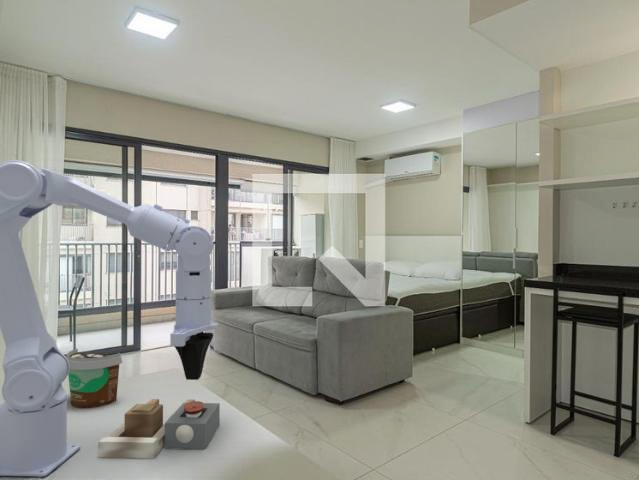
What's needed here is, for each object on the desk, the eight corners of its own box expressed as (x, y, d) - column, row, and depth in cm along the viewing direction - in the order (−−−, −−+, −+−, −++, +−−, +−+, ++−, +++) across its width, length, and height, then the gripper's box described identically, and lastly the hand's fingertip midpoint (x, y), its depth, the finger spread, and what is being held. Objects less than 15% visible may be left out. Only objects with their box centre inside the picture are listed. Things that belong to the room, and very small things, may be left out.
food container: (48, 406, 80) (48, 356, 80) (75, 395, 86) (75, 348, 86) (97, 414, 77) (97, 361, 77) (122, 401, 82) (122, 353, 82)
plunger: (180, 438, 66) (180, 408, 66) (187, 428, 70) (187, 401, 70) (199, 438, 66) (199, 409, 66) (206, 429, 69) (206, 401, 69)
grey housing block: (164, 448, 64) (164, 423, 64) (183, 425, 72) (183, 402, 72) (204, 449, 64) (204, 424, 64) (219, 425, 72) (219, 403, 72)
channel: (98, 457, 61) (98, 441, 61) (151, 408, 79) (151, 395, 79) (153, 458, 61) (153, 442, 61) (194, 408, 79) (194, 396, 79)
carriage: (124, 444, 65) (124, 412, 65) (136, 433, 69) (136, 402, 69) (152, 445, 65) (152, 412, 65) (162, 433, 69) (162, 402, 69)
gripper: (203, 304, 60) (202, 395, 60) (228, 292, 75) (228, 365, 75) (156, 304, 61) (156, 394, 61) (191, 292, 75) (190, 364, 75)
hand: (193, 378), depth 68 cm, fingers closed
